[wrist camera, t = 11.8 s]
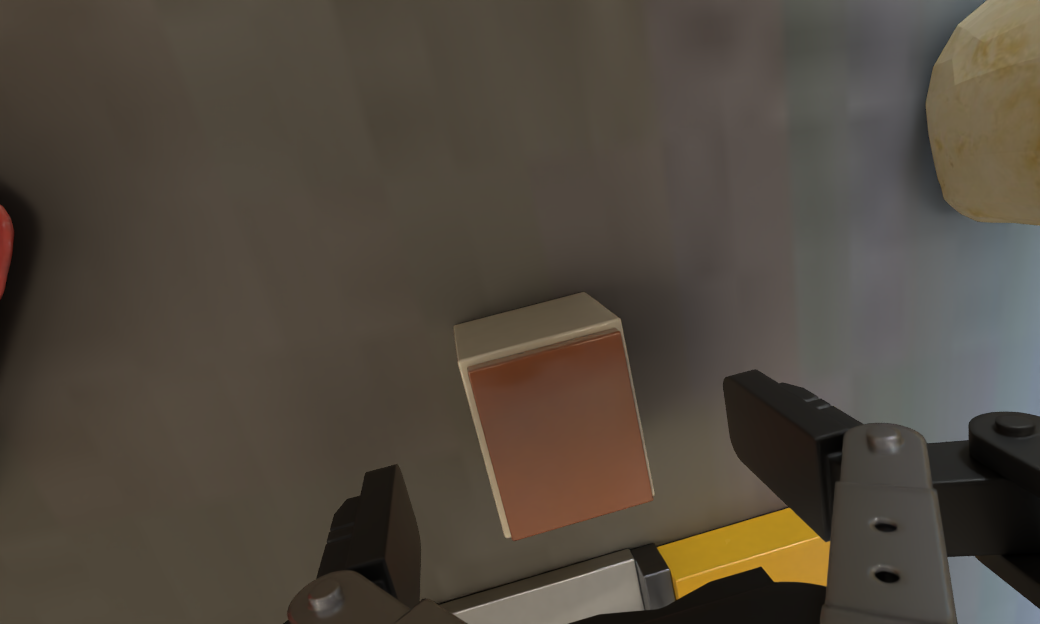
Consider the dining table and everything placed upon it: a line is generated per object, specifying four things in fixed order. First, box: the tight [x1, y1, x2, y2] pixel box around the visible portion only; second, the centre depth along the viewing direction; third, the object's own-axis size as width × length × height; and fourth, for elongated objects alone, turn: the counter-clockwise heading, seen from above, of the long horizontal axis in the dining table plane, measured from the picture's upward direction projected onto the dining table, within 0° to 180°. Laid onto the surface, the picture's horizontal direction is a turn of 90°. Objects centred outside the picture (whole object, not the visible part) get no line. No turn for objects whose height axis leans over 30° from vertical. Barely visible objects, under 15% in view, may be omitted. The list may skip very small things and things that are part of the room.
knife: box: [440, 508, 830, 624], centre depth 22 cm, size 26×3×2 cm, turn 103°
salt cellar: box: [453, 292, 655, 541], centre depth 19 cm, size 5×6×4 cm
